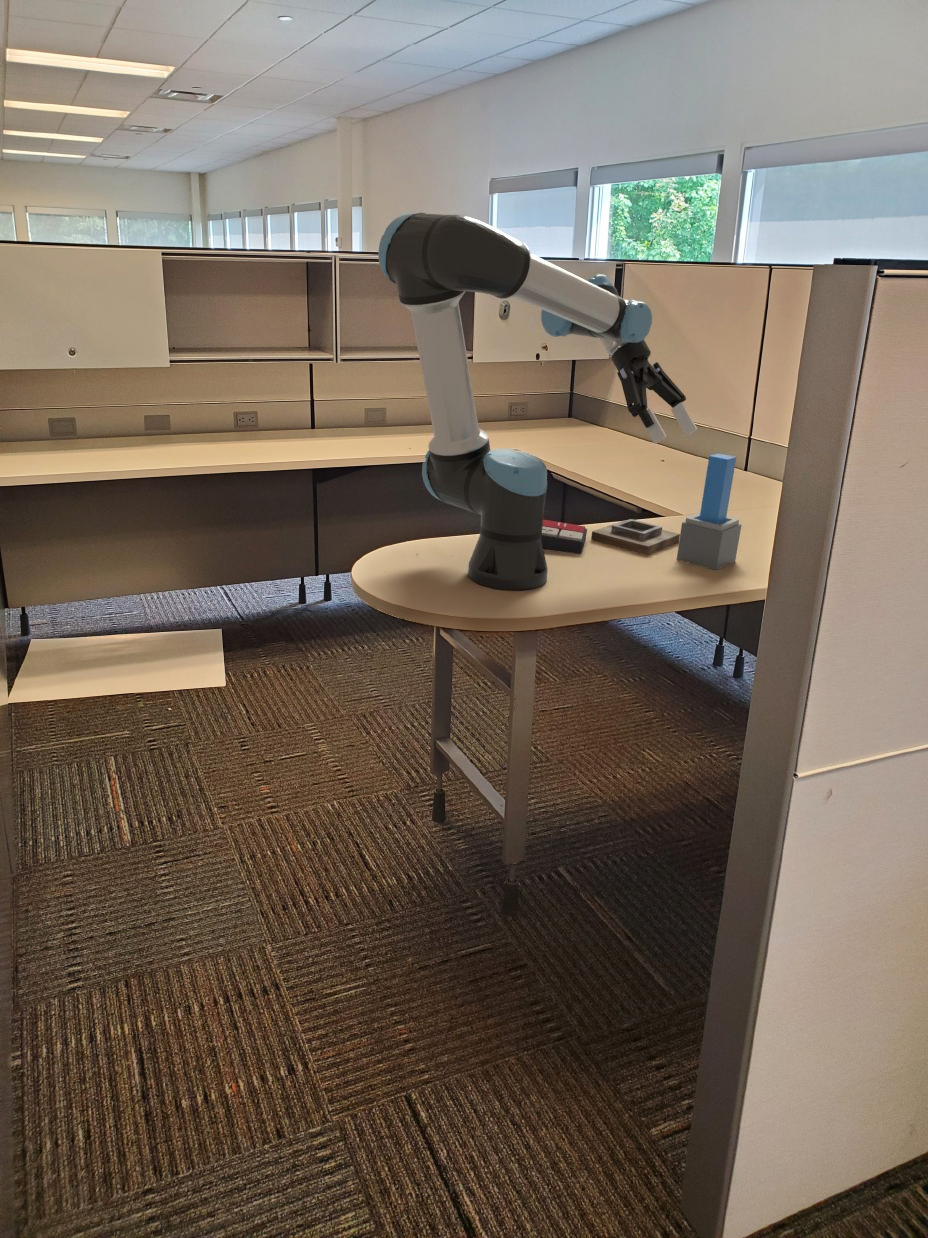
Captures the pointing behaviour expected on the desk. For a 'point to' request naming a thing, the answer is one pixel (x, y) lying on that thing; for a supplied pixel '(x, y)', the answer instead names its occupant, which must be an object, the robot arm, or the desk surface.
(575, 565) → the desk surface
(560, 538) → the black and red block
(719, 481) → the plug
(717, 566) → the upper socket block
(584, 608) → the desk surface
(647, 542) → the lower socket plate
